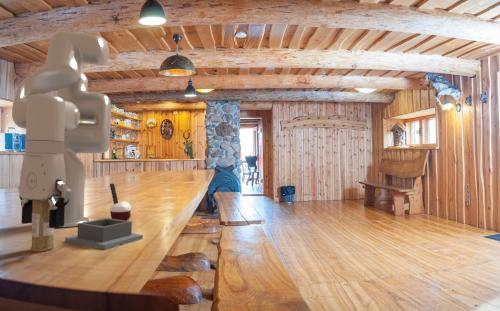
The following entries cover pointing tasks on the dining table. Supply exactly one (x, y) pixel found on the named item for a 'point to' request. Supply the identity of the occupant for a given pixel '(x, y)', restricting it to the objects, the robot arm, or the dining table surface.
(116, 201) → the cocoa
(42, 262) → the dining table surface
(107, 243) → the bottle stand
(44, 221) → the sprinkles bottle
